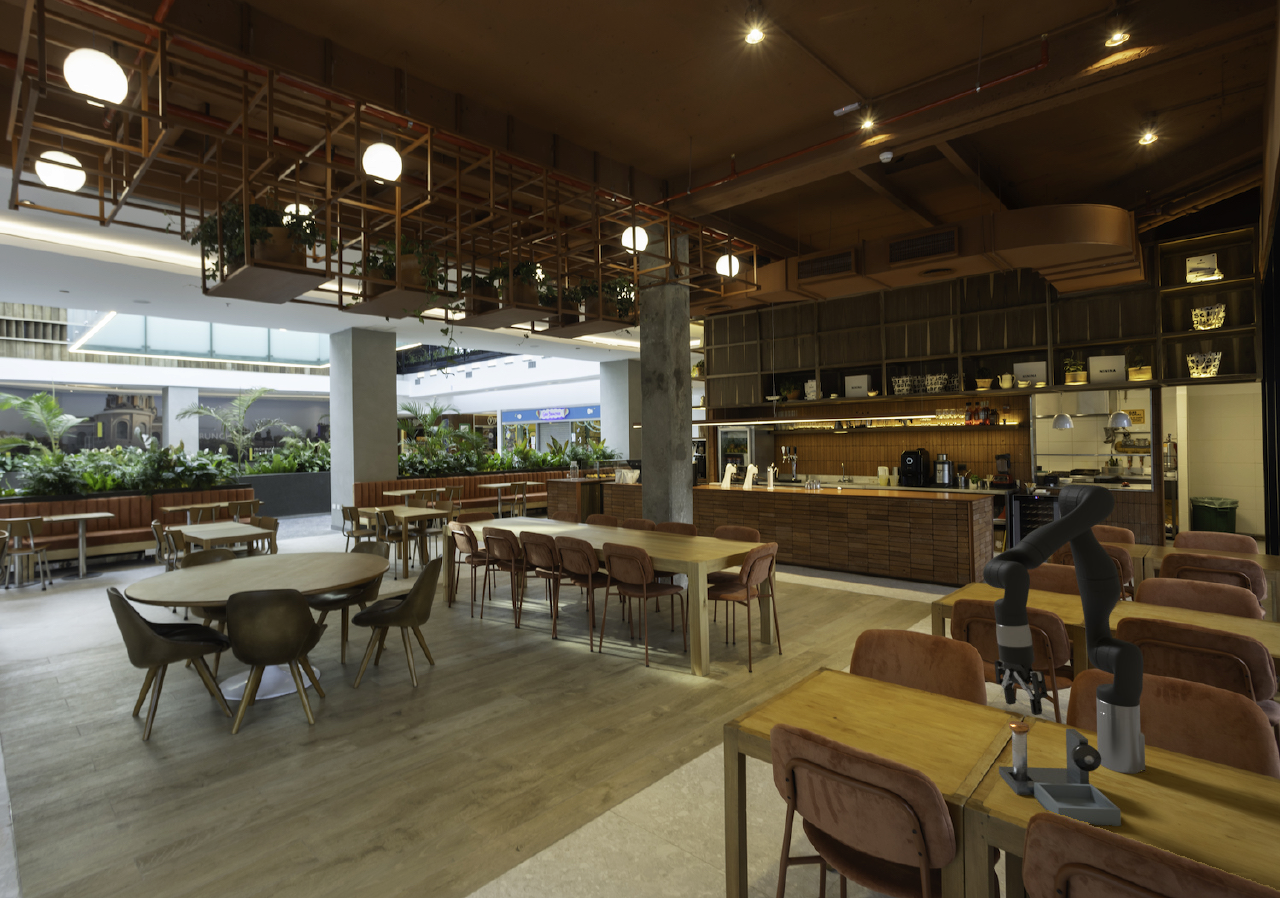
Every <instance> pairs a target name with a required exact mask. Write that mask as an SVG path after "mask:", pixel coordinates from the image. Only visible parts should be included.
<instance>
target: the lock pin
mask: <svg viewBox="0 0 1280 898" xmlns="http://www.w3.org/2000/svg"><path fill="white" fill-rule="evenodd" d="M1008 728H1009V729H1010V730H1011V741H1012V742H1011V746H1012V747H1011V749H1012V753H1011V755H1012V756H1011V757H1012V767H1013V779H1014V780H1015V781H1028V768H1027V767H1028V735H1027V734H1028V732H1030V724H1028V723H1026V722H1023V721H1019V720H1012V721H1009V722H1008Z"/></svg>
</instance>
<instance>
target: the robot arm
mask: <svg viewBox="0 0 1280 898" xmlns="http://www.w3.org/2000/svg"><path fill="white" fill-rule="evenodd" d="M1057 501H1058V510H1059V513H1060V516H1061V517H1060V518H1058V519H1055V520H1054V521H1051V522H1049V523H1047V524H1044V525H1042V526H1039V527H1038V528H1036V529H1034V530H1032V531H1031V532H1029V533H1028V534H1027V535H1026V536H1024V538H1022V539H1021V540H1020V541H1019V542H1018V543H1017V544H1016V545H1014V546H1013V547H1011V548H1009V549H1007V550H1005V551H1003V552H1001V553H1000V554H997V555H996V556H994V557H993V558H991V559H990V560H989V561H988V562H987V563H986V564H985V566H984V568H983V571H982V577H983V580H984V582H986V584H988V586H990V587H993V588H995V589H1002V590H1004V594H1003V598H998V599H997V600H995V602H994V604H993V607H994V609H993V610H994V616H995V623H996V624H995V625H996V627H995V628H996V630H995V631H996V634H995V635H996V640H997V641H996V642H997V648H998V656H999V659H997V660H994V672H995V682H996V684H997V685H1001V688H1002V689H1003V693H1004V699H1005V703H1006V704H1007V705H1010V706H1011V705H1015V704H1016V695H1015V694H1016V693H1015V688H1014V686H1015V684H1017V685H1019V686H1020V687H1021V688H1022V689H1023V690H1024V691H1025V692H1026V693H1027V695H1028V697H1029V702H1030V703H1029V704H1030V710H1031V714H1032V715H1033V716H1038V715H1039V716H1040V715H1042V713H1043V707H1042V699H1045V698H1046V699H1047V698H1048V690H1047V685H1046V678H1045V675H1044V674H1045V673H1044V672H1043V671H1041V670H1040V671H1034V669H1033V666H1032V665H1033V663H1035V662H1036V661H1035V652H1034V646H1033V645H1034V644H1033V638H1032V632H1031V628H1030V624H1029V617H1028V611H1027V605H1028V600H1029V592H1030V585H1031V578H1030V573H1029V571H1028V570H1035V569H1037V568H1038V567H1040V566H1041V565H1043V564H1044V563H1045V562H1046V561H1047V560H1048V559H1049V558H1050V557H1052V556H1053V554H1055V553H1056V552H1057V551H1058V550H1059V549H1061V548H1062V547H1063V546H1065V545H1066V544H1067V543H1069V547H1070V551H1071V554H1072V559H1073V565H1074V571H1075V577H1076V582H1077V587H1078V590H1079V591H1078V592H1079V595H1080V596H1079V597H1080V599H1081V606H1082V613H1083V618H1084V629H1085V631H1084V632H1085V642H1086V643H1085V644H1086V651H1087V657H1088V660H1089V662H1090V664H1091V665H1092V666H1093V667H1094V668H1096V669H1098V670H1099V671H1102V672H1106V673H1108V674H1111V675H1113V682H1112V683H1103V684H1102V683H1101V684H1098V685H1097V687H1096V692H1095V693H1096V694H1095V695H1096V734H1097V735H1096V736H1097V737H1096V738H1097V742H1096V743H1097V744H1096V745H1097V751H1098V752H1099V753H1100V756H1101V764H1100V765H1101V766H1102V767H1104V768H1106V769H1107V770H1108V769H1109V770H1111V771H1112V772H1117V773H1121V774H1128V775H1129V774H1133V775H1134V774H1139V773H1140V771H1141V770H1145V771H1146V749H1145V745H1146V743H1145V734H1144V733H1143V732H1141V709H1140V708H1141V707H1140V706H1141V705H1140V701H1141V696H1142V694H1143V686H1144V685H1143V682H1144V655H1143V652H1142V650H1141V648H1140V647H1139V646H1138V645H1136V644H1134V643H1132V642H1130V641H1126V640H1122V639H1119V638H1116V637H1115V638H1114V637H1113V636H1112V632H1111V631H1112V630H1111V626H1110V625H1111V624H1110V616H1111V614H1112V612H1113V610H1114V608H1115V607H1116V605H1117V604H1118V601H1119V599H1120V596H1121V593H1122V589H1121V582H1120V581H1121V580H1120V577H1119V571H1118V569H1117V568H1118V567H1117V565H1116V564H1115V563H1116V562H1114V560H1113V558H1112V557H1111V556H1110V554H1109V553H1108V552H1107V550H1105V548H1104V546H1102V544H1101V543H1100V542H1099V541H1098V539H1097V538H1096V536H1095V533H1094V531H1093V529H1092V528H1093V527H1095V526H1097V525H1098V524H1100V523H1102V522H1103V521H1105V520H1106V519H1107V518H1108V517H1110V515H1111V514H1112V513H1113V512H1114V509H1115V505H1116V502H1115V501H1116V500H1115V497H1114V494H1113V493H1112V491H1111V490H1110V489H1108V488H1107V487H1105V486H1102V485H1094V484H1076V483H1075V484H1066V485H1064V486H1063V487H1062V488H1061V489H1060V491H1059V494H1058V499H1057ZM1001 676H1002V677H1001ZM1032 690H1033V691H1032ZM1040 690H1041V691H1040ZM1138 772H1139V773H1138ZM1141 772H1142V771H1141Z"/></svg>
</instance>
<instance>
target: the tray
mask: <svg viewBox="0 0 1280 898" xmlns="http://www.w3.org/2000/svg"><path fill="white" fill-rule="evenodd" d="M1033 796H1034V799H1035V798H1036V799H1037V800H1038V801H1037V800H1036V799H1035V800H1036V801H1037V802H1038V803H1039V804H1040V805H1041V806H1042V807H1043V808H1044V809H1045V811H1047V810H1049V811H1052V812H1054V813H1057V814H1060V815H1065V816H1068V817H1071V818H1073V819H1077V820H1079V821H1084V822H1088V823H1090V824H1094V825H1093V826H1109V825H1112V826H1113V827H1116V826H1117V827H1121V825H1122V822H1121V821H1122V819H1121V818H1122V817H1121V813H1122V812H1121V809H1120V808H1119V807H1118V806H1117V805H1116V804H1115V803H1113V801H1111V800H1110V799H1109V798H1108V797H1107V796H1106V795H1105V794H1103V793H1102V792H1101V791H1100V790H1099V789H1098V788H1097V787H1095V786H1094V785H1093V784H1091V783H1090V784H1066V783H1034V795H1033Z"/></svg>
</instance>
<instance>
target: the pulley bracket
mask: <svg viewBox="0 0 1280 898" xmlns="http://www.w3.org/2000/svg"><path fill="white" fill-rule="evenodd" d="M1065 745H1066V746H1065V748H1066V749H1065V750H1066V752H1065V753H1066V768H1063V767H1061V768H1060V767H1036V766H1035V767H1032V766H1031V767H1028V766H1027V768H1028V781H1015V780H1014V779H1013V766H1000V765H999V766H998V775H999V774H1000V775H1001V776H1000V775H999V776H1000V777H1001V778H1002V779H1003V780H1004V782H1005V783H1006V784H1007V785H1008V787H1010V789H1012V791H1013V792H1014V793H1015V794H1016V795H1019V796H1034V783H1066V784H1091V783H1090V773H1089V772H1094V771H1096V770H1097V769H1098V768H1099V767H1100V765H1101V756H1100V753H1099V752H1098V749H1096V748H1095V747H1094V746H1092V745H1091V744H1089V739H1088V738H1087V737H1086V736H1085V735H1083V734H1082V733H1081V732H1079V731H1078V730H1077V729H1075V728H1066V729H1065ZM1029 794H1030V795H1029Z"/></svg>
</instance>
